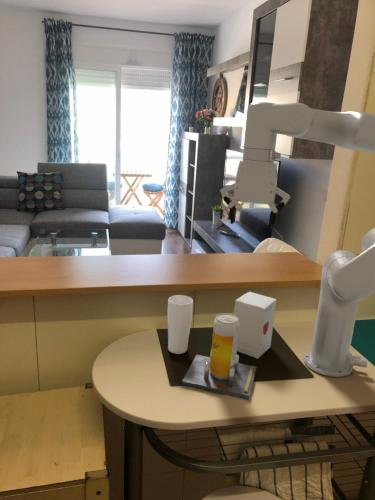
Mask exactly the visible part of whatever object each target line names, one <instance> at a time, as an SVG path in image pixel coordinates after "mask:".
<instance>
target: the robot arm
mask: <svg viewBox="0 0 375 500" xmlns="http://www.w3.org/2000/svg"><path fill="white" fill-rule="evenodd" d="M245 120H246V121H245V130H244V131H245V132H244V143H243V153H242V160H240V161H239V163H238V166H237V170H236V176H235V180H234V183H232V184H230V185H227V186H224V187H223V188H221V189H219V191H220V193H221V194H220V195H221V196H222V200H223V201H224V202H225V204H226V205H227V207H228V208H229V209H228V220H229V221H230V222H229V224H230V225H231V224H232V225H233V224H234V223H235V222H236V214H237V207H236V204H238V203H239V202H241V203H247V204H248V203H249V204H258V205H268V207H269V208H270V210H271V211H270V213H269V221H268V229H272V228H273V226H275V225H276V221H277V214H278V212H279V211H280V210H282V209H283V208H284V207H285V206H286V205H287V203H288V202H289V200H290V199H291V195H290V194H288V193H287V192H285V191H284V190H282V189H281V188H279V187H278V163H277V162H275V160H277V159H281V157H282V153H281V152H277V151H276V146H277V136H278V135H284V136H287V137H290V138H297V139H303V140H306V141H307V140H309V141H313V142H319V143H324V144H329V145H333V146H335V147H339V148H342V149H346V150H351V151H355V152H356V151H357V152H362V153H363V152H364V153H369V154H373V155H375V113H369V112H365V111H364V112H363V111H328V110H322V109H317V108H310V107H309V105H307V104H305V103H302V102H291V103H274V102H267V101H255V102H251V103H250V104H249V105H248V107H247V111H246V119H245ZM232 190H233V199H231V198H230V196H229V195H228V192H230V191H232ZM277 195H278V196H279V197H281V198H282V200H280V202H279V203H278V204H276V203H275V200H276V197H277ZM360 248H361V251H362V252H361V253H359V254H358V255H357V254H356V253H354V252H352V251H349V250H344V249H341V250H339V249H338V250H335V251H334V252H331V254H329V255H328V256H327V257H326V258H325V260H324V262H323V264H322V268H321V277H320V293H319V298H318V299H319V300H318V306H317V312H316V318H315V323H314V329H313V330H314V331H313V335H312V336H313V337H312V341H311V342H312V343H311V348H310V350H308V351H306V352H305V353H304V354H303V362H304V364H305V365H306V366H307V367H308V368H309V369H311V370H312V371H314V372H316V373H318V374H320V375H323V376H326V377H334V378H341V377H346V376H349V375H350V374H351V373H352V372H353V370H354V366H355V367H356V366H357V367H360V368H365V369H366V368H367V367H368V360H366V359H362V356H361V355H358V354H352V353H351V350H350V349H351V345H352V339H353V335H354V328H355V324H356V317H357V315H358V314H357V313H358V310H359V309H358V308H359V302H360V301H363V300H365V299H367V298H369V297H370V296H372V295H374V294H375V227H373V228H372V229H371V230H369V231H367V232H366V234H364V236H363V237H362V239H361V242H360Z"/></svg>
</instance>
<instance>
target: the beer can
mask: <svg viewBox="0 0 375 500" xmlns="http://www.w3.org/2000/svg"><path fill="white" fill-rule="evenodd" d="M213 320H214V321H213V327H212V328H213V331H212V339H211V342H212V343H211V350H210V351H211V361H210V372H211V373H212V375H213V376H214V377H216V378H219V379H228V378H229V371H230V367H234V368H235V362H236V355H237V352H238V351H237V343H238V334H239V324H240V323H239V321H238V317H236V316H235V315H234V314H232V313H227V312H226V313H219V314H217V315H216V316H215V318H214V319H213Z"/></svg>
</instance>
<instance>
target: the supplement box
mask: <svg viewBox="0 0 375 500" xmlns="http://www.w3.org/2000/svg"><path fill="white" fill-rule="evenodd" d="M276 306H277V298H273V297H270V296H267V295H266V296H265V295H262V294H259V293H257V292H256V293H255V292H253V291H248V292H247V293H244V294H243V295H241V296H240V297H238V298H237V299H235V300H234V307H233V308H234V309H233V315H235V316H236V317H238V321H239V323H240V324H239V334H238V343H237V352H239V353H241V354H244V355H247V356H249V357H252V358H255V359H257V360H258V359H259V358H260V357H262V356H263V355H264V354H265V353H266V352H267V351H268V349H270V348H271V345H272V338H273V337H272V336H273V330H274V329H273V328H274V323H275V315H276V314H275V313H276Z"/></svg>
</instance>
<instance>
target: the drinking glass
mask: <svg viewBox="0 0 375 500" xmlns="http://www.w3.org/2000/svg"><path fill="white" fill-rule="evenodd" d="M166 310H167V311H166V315H167V319H166V320H167V339H168V340H167V343H168V345H167V349H168V351H169V352H170V353H171V354H175V355H176V354H177V355H181V354H184V353H186V352H187V351H188V346H189V345H188V343H189V339H190V338H189V336H190V332H191V325H192V319H193V311H194V300H193V298H192V297H191V296H188V295H184V294H177V295H176V294H174V295H171V296H170V297H169V298H168V300H167V309H166Z"/></svg>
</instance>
